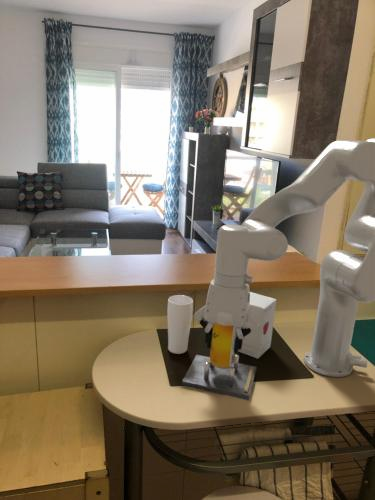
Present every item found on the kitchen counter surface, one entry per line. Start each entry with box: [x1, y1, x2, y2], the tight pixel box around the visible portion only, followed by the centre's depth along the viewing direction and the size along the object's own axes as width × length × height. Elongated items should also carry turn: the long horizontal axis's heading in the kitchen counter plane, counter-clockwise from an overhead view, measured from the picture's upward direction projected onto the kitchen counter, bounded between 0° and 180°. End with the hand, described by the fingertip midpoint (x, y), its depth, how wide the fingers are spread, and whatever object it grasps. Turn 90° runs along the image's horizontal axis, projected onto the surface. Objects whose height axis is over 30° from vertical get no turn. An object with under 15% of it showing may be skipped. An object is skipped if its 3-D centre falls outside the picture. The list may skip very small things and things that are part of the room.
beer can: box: [209, 311, 237, 369], centre depth 101 cm, size 6×6×15 cm
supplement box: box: [238, 291, 277, 360], centre depth 117 cm, size 9×9×15 cm
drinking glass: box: [166, 294, 194, 355], centre depth 114 cm, size 7×7×15 cm
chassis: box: [181, 354, 257, 401], centre depth 103 cm, size 16×13×5 cm
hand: (223, 347), depth 101 cm, fingers closed on beer can, 6 cm apart
